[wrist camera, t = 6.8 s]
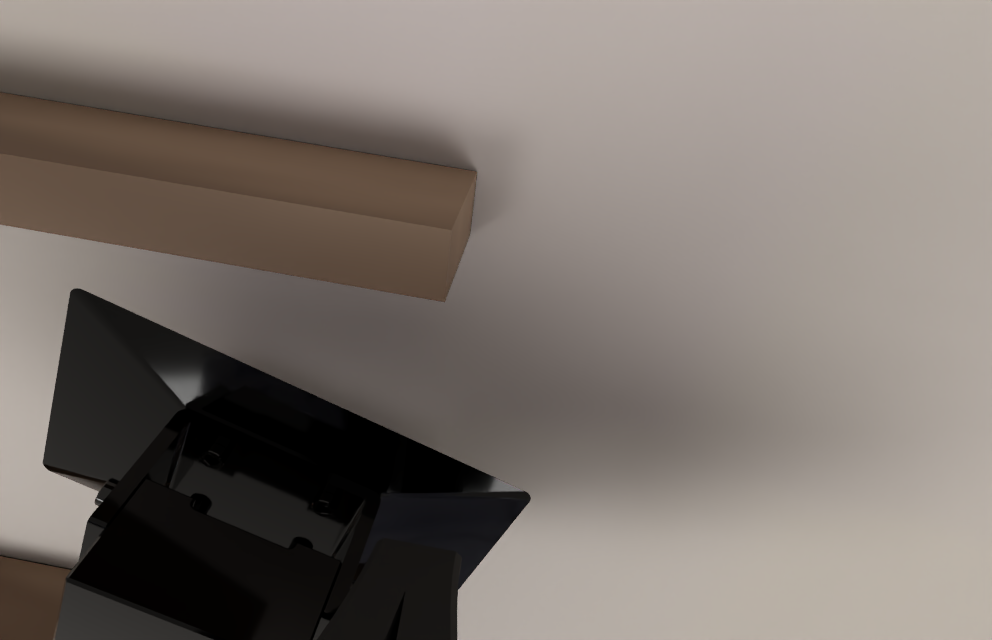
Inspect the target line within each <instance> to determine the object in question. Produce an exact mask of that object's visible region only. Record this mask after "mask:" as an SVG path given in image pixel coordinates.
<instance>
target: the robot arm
mask: <svg viewBox="0 0 992 640" xmlns="http://www.w3.org/2000/svg"><path fill="white" fill-rule="evenodd" d="M461 561H462V557H461V556H460V555H459V554H458V553H457V552H456V551H451V550H446V549H441V548H435V547H430V546H425V545H420V544H414V543H409V542H404V541H398V540H393V539H388V538H383V539H381V540H378V541H377V543H376V545H375V547H374V549H373V551H372V553H371V555H370V557H369V558H368V560H367V562H366V564H365V566H364V567H363V569H362V571H361V573H360V574H359V576H358V578H357V579H356V581H355V583H354V584H353V586H352V588H351V589H350V591H349V592H348V594H347V596H346V597H345V599H344V600H343V602H342V603H341V605H340V606H339V608H338V610H337V611H336V613H335V614H334V616H333V617H332V619H331V620H330V621H329V623H328V624H327V626H326V627H325V629H324V630H323V631H322V633H321V634H320V636H319V637H318V639H317V640H457V596H458V582H459V574H460V567H461Z"/></svg>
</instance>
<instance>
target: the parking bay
mask: <svg viewBox="0 0 992 640" xmlns="http://www.w3.org/2000/svg"><path fill="white" fill-rule="evenodd" d="M476 178H477V172H476V171H470V170H464V169H458V168H452V167H446V166H440V165H434V164H428V163H422V162H416V161H410V160H403V159H397V158H391V157H385V156H379V155H373V154H367V153H361V152H355V151H349V150H343V149H337V148H331V147H325V146H319V145H313V144H307V143H301V142H295V141H289V140H283V139H277V138H271V137H265V136H259V135H253V134H247V133H241V132H235V131H229V130H223V129H217V128H211V127H205V126H199V125H193V124H187V123H181V122H175V121H169V120H163V119H157V118H151V117H145V116H139V115H133V114H127V113H121V112H115V111H109V110H103V109H97V108H91V107H85V106H79V105H73V104H67V103H61V102H55V101H49V100H43V99H37V98H31V97H25V96H19V95H13V94H7V93H1V92H0V224H1V225H6V226H12V227H18V228H24V229H29V230H35V231H41V232H47V233H52V234H58V235H64V236H69V237H75V238H81V239H87V240H92V241H98V242H104V243H110V244H115V245H121V246H127V247H132V248H138V249H144V250H150V251H155V252H161V253H167V254H172V255H178V256H184V257H190V258H195V259H201V260H207V261H213V262H218V263H224V264H230V265H235V266H241V267H247V268H253V269H258V270H264V271H270V272H275V273H281V274H287V275H293V276H298V277H304V278H310V279H316V280H321V281H327V282H333V283H338V284H344V285H350V286H356V287H361V288H367V289H373V290H379V291H384V292H390V293H396V294H401V295H407V296H413V297H419V298H424V299H430V300H436V301H441V302H445V300H446V297H447V294H448V292H449V289H450V286H451V284H452V281H453V279H454V276H455V273H456V271H457V268H458V265H459V263H460V260H461V257H462V255H463V252H464V249H465V247H466V244H467V241H468V239H469V236H470V231H471V222H472V213H473V204H474V195H475V186H476ZM70 571H71V570H68V569H63V568H58V567H53V566H48V565H43V564H38V563H33V562H27V561H22V560H17V559H12V558H7V557H2V556H0V640H53V637H54V632H55V627H56V622H57V617H58V612H59V607H60V602H61V597H62V592H63V587H64V582H65V578H66V577H67V575H68V574H69V573H70Z"/></svg>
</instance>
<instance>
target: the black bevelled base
mask: <svg viewBox="0 0 992 640" xmlns="http://www.w3.org/2000/svg"><path fill="white" fill-rule="evenodd" d="M43 465H44V466H45V467H46V468H47V469H48V470H49V471H52V472H54V473H56V474H59V475H61V476H63V477H66V478H68V479H71V480H73V481H75V482H78V483H80V484H83V485H85V486H87V487H90V488H92V489H95V490H97V491H99V493H98V495H97V497H96V499H95V505H98V506H99V507H98V508H97V509H96V510H95V511H94V513H93V514H92V515H91V516H90V518H89V520H88V522H87V526H86V530H85V535H84V539H83V544H82V549H81V553H80V558H79V561H78V563H77V564H76V565H75V566H74V568H73V569H72V570H71V571H70V573H69V574H68V575H67V577H66V578H65V582H64V587H63V592H62V597H61V602H60V607H59V612H58V617H57V622H56V627H55V632H54V637H53V640H317V639H318V637H319V636H320V634H321V633H322V631H323V630H324V629H325V627H326V626H327V624H328V623H329V621H330V620H331V619H332V617H333V616H334V614H335V613H336V611H337V610H338V608H339V606H340V605H341V603H342V602H343V600H344V599H345V597H346V596H347V594H348V592H349V591H350V589H351V588H352V586H353V584H354V583H355V581H356V579H357V578H358V576H359V574H360V573H361V571H362V569H363V567H364V566H365V564H366V562H367V560H368V558H369V557H370V555H371V553H372V551H373V549H374V547H375V545H376V543H377V541H378V540H381V539H383V538H388V539H393V540H398V541H404V542H409V543H414V544H420V545H425V546H430V547H435V548H441V549H446V550H451V551H456V552H457V553H458V554H459V555H460V556H461V557H462V561H461V567H460V574H459V582H458V589H459V588H460V587H461V586H462V584H463V583H464V582H465V581H466V579H467V578H468V577H469V576H470V575H471V573H472V572H473V571H474V570H475V568H476V567H477V566H478V565H479V563H480V562H481V561H482V560H483V558H484V557H485V556H486V555H487V553H488V552H489V551H490V550H491V549H492V547H493V546H494V545H495V544H496V542H497V541H498V540H499V539H500V537H501V536H502V535H503V534H504V532H505V531H506V530H507V529H508V527H509V526H510V525H511V524H512V523H513V521H514V520H515V519H516V518H517V516H518V515H519V514H520V513H521V511H522V510H523V509H524V508H525V506H526V505H527V504H528V503H529V501H530V499H531V498H530V495H529V494H528V493H527V492H525V491H523V490H521V489H519V488H517V487H515V486H512V485H510V484H508V483H506V482H504V481H501V480H499V479H497V478H495V477H493V476H490V475H488V474H486V473H484V472H482V471H479V470H477V469H475V468H473V467H471V466H468V465H466V464H464V463H462V462H460V461H458V460H455V459H453V458H451V457H449V456H447V455H444V454H442V453H440V452H438V451H436V450H433V449H431V448H429V447H427V446H425V445H422V444H420V443H418V442H416V441H414V440H411V439H409V438H407V437H405V436H403V435H400V434H398V433H396V432H394V431H392V430H389V429H387V428H385V427H383V426H381V425H378V424H376V423H374V422H372V421H370V420H367V419H365V418H363V417H361V416H359V415H357V414H354V413H352V412H350V411H348V410H346V409H343V408H341V407H339V406H337V405H335V404H332V403H330V402H328V401H326V400H324V399H321V398H319V397H317V396H315V395H313V394H310V393H308V392H306V391H304V390H302V389H299V388H297V387H295V386H293V385H291V384H288V383H286V382H284V381H282V380H280V379H277V378H275V377H273V376H271V375H269V374H267V373H264V372H262V371H260V370H258V369H256V368H253V367H251V366H249V365H247V364H245V363H242V362H240V361H238V360H236V359H234V358H231V357H229V356H227V355H225V354H223V353H220V352H218V351H216V350H214V349H212V348H209V347H207V346H205V345H203V344H201V343H198V342H196V341H194V340H192V339H190V338H187V337H185V336H183V335H181V334H179V333H177V332H174V331H172V330H170V329H168V328H166V327H163V326H161V325H159V324H157V323H155V322H152V321H150V320H148V319H146V318H144V317H141V316H139V315H137V314H135V313H133V312H130V311H128V310H126V309H124V308H122V307H119V306H117V305H115V304H113V303H111V302H108V301H106V300H104V299H102V298H100V297H97V296H95V295H93V294H91V293H89V292H87V291H84V290H82V289H73V290H72V291H71V292H70V298H69V304H68V310H67V316H66V323H65V329H64V335H63V341H62V347H61V353H60V360H59V366H58V372H57V378H56V384H55V391H54V397H53V403H52V409H51V415H50V421H49V428H48V434H47V440H46V446H45V452H44V458H43Z"/></svg>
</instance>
